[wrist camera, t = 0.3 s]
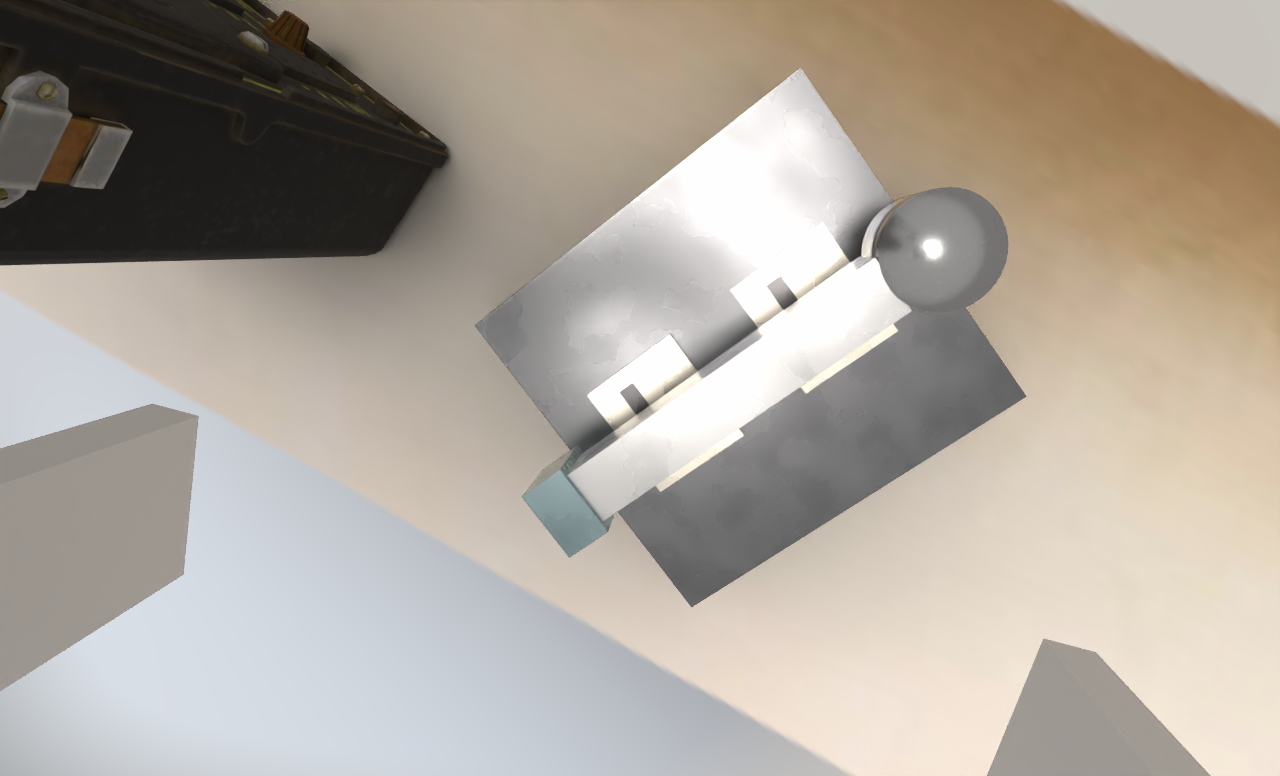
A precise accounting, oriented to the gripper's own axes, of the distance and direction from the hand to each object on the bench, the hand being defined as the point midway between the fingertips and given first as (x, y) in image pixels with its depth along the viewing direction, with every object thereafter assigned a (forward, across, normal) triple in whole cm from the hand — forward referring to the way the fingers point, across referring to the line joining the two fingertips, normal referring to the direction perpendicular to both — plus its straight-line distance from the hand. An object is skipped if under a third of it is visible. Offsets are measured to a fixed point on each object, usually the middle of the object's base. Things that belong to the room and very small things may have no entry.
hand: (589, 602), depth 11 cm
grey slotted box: (+27, +3, 0) cm, 27 cm away
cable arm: (+21, +3, +1) cm, 21 cm away
